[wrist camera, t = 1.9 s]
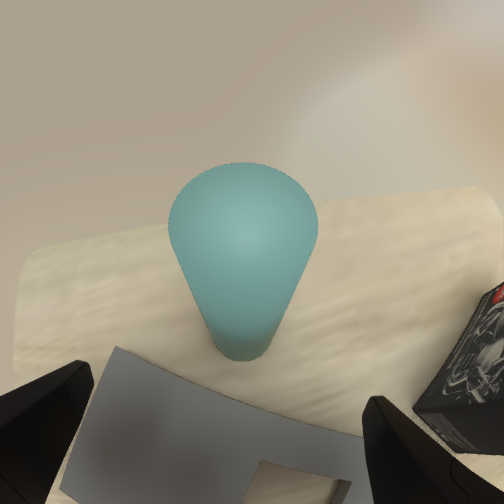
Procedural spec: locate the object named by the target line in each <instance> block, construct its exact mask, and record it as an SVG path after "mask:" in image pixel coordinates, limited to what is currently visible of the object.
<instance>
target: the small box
mask: <svg viewBox="0 0 504 504" xmlns="http://www.w3.org/2000/svg"><path fill="white" fill-rule="evenodd" d="M413 411H414V412H415V413H416V414H417V415H418V416H419V417H420V418H421V419H422V420H423V421H424V422H425V423H426V424H427V425H428V426H429V427H430V428H431V429H432V430H433V431H434V432H435V433H436V434H437V435H438V436H439V437H440V438H441V439H442V440H443V441H444V442H445V443H446V444H447V445H448V446H449V447H450V448H451V449H453V450H454V451H455V453H459V454H464V453H467V454H470V453H471V454H483V455H484V454H485V455H501V456H504V282H503V283H501V284H500V285H498V286H497V287H495V288H494V289H492V290H491V291H489V292H488V293H486V294H484V295H483V297H482V299H481V301H480V303H479V305H478V307H477V309H476V311H475V313H474V315H473V317H472V318H471V320H470V322H469V324H468V326H467V328H466V329H465V331H464V333H463V334H462V336H461V338H460V339H459V341H458V343H457V345H456V346H455V348H454V349H453V351H452V353H451V354H450V356H449V357H448V359H447V360H446V362H445V363H444V365H443V367H442V368H441V369H440V371H439V372H438V374H437V375H436V377H435V378H434V380H433V381H432V383H431V384H430V385H429V387H428V388H427V390H426V391H425V392H424V394H423V395H422V396H421V397H420V399H419V400H418V401H417V403H416V404H415V405H414V407H413Z"/></svg>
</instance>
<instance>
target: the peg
mask: <svg viewBox="0 0 504 504" xmlns="http://www.w3.org/2000/svg"><path fill="white" fill-rule="evenodd" d="M168 230H169V237H170V241H171V245H172V247H173V250H174V252H175V254H176V257H177V259H178V262H179V264H180V266H181V269H182V271H183V273H184V276H185V278H186V280H187V283H188V285H189V287H190V289H191V292H192V294H193V296H194V299H195V301H196V303H197V305H198V307H199V310H200V312H201V314H202V316H203V318H204V321H205V323H206V325H207V327H208V329H209V331H210V333H211V335H212V338H213V340H214V342H215V344H216V346H217V348H218V349H219V350H220V352H221V353H222V354H224V355H225V356H226V357H228V358H230V359H232V360H235V361H250V360H253V359H256V358H258V357H259V356H261V355H262V354H263V353H264V352H265V351H266V350H267V348H268V347H269V345H270V343H271V341H272V339H273V337H274V335H275V332H276V330H277V328H278V326H279V324H280V322H281V320H282V318H283V315H284V313H285V311H286V309H287V307H288V305H289V302H290V300H291V298H292V296H293V294H294V291H295V289H296V287H297V285H298V282H299V280H300V278H301V276H302V273H303V271H304V269H305V267H306V264H307V262H308V260H309V257H310V255H311V253H312V250H313V248H314V245H315V243H316V239H317V234H318V219H317V214H316V210H315V207H314V205H313V202H312V200H311V199H310V197H309V195H308V194H307V193H306V191H305V190H304V189H303V188H302V187H301V186H300V185H299V184H298V183H297V182H296V181H295V180H294V179H292V178H291V177H290V176H288V175H286V174H285V173H283V172H281V171H279V170H277V169H274V168H272V167H269V166H265V165H261V164H255V163H231V164H225V165H221V166H217V167H214V168H212V169H209V170H207V171H205V172H203V173H201V174H200V175H198V176H197V177H195V178H194V179H192V180H191V181H190V182H189V183H188V184H187V185H186V186H185V187H184V188H183V189H182V190H181V192H180V193H179V194H178V196H177V197H176V199H175V201H174V203H173V205H172V208H171V211H170V216H169V222H168Z"/></svg>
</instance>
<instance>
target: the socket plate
mask: <svg viewBox="0 0 504 504" xmlns="http://www.w3.org/2000/svg"><path fill="white" fill-rule="evenodd" d="M261 460H264V461H267V462H270V463H274V464H277V465H281V466H284V467H288V468H292V469H296V470H299V471H303V472H308V473H312V474H316V475H321V476H326V477H330V478H336V479H341V481H340V483H339V485H338V487H337V490H336V492H335V494H334V496H333V499H332V501H331V503H330V504H374V502H373V497H372V491H371V486H370V480H369V475H368V470H367V465H366V459H365V449H364V438H362V437H358V436H353V435H349V434H345V433H341V432H336V431H332V430H329V429H325V428H321V427H317V426H314V425H310V424H306V423H303V422H300V421H296V420H293V419H290V418H286V417H283V416H280V415H277V414H274V413H271V412H268V411H265V410H262V409H259V408H256V407H253V406H250V405H248V404H245V403H242V402H239V401H237V400H234V399H231V398H229V397H226V396H224V395H221V394H219V393H216V392H214V391H211V390H209V389H206V388H204V387H202V386H199V385H197V384H194V383H192V382H190V381H188V380H185V379H183V378H181V377H179V376H176V375H174V374H172V373H170V372H168V371H166V370H163V369H161V368H159V367H157V366H155V365H153V364H151V363H149V362H147V361H145V360H143V359H141V358H139V357H137V356H135V355H133V354H131V353H129V352H127V351H126V350H123V349H121V348H119V347H117V346H115V348H114V350H113V352H112V355H111V357H110V359H109V361H108V363H107V366H106V368H105V370H104V372H103V375H102V377H101V379H100V382H99V384H98V386H97V389H96V391H95V393H94V396H93V398H92V401H91V403H90V406H89V408H88V410H87V413H86V415H85V418H84V421H83V423H82V426H81V428H80V431H79V433H78V436H77V439H76V442H75V444H74V447H73V450H72V452H71V455H70V458H69V461H68V464H67V467H66V470H65V473H64V476H63V479H62V482H61V485H60V488H59V490H61V491H62V492H64V493H65V494H66V495H68V496H69V497H71V498H72V499H74V500H75V501H77V502H78V503H80V504H241V503H242V501H243V498H244V496H245V494H246V492H247V490H248V488H249V485H250V483H251V481H252V479H253V477H254V474H255V472H256V470H257V468H258V465H259V463H260V461H261Z"/></svg>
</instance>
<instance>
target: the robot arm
mask: <svg viewBox="0 0 504 504" xmlns="http://www.w3.org/2000/svg"><path fill="white" fill-rule="evenodd" d="M93 387H94V379H93V376H92V372H91V368H90V365H89V363H87V362H85V361H81V360H76V361H73V362H71V363H69V364H67V365H65V366H63V367H61V368H59V369H57V370H55V371H53V372H51V373H49V374H46V375H44V376H42V377H40V378H38V379H36V380H34V381H32V382H30V383H27V384H25V385H23V386H21V387H19V388H17V389H15V390H13V391H10V392H9V393H6V394H4V395H2V396H0V504H45V502H46V499H47V497H48V494H49V492H50V489H51V487H52V485H53V482H54V480H55V478H56V475H57V473H58V471H59V468H60V466H61V464H62V462H63V459H64V457H65V455H66V453H67V451H68V448H69V446H70V444H71V442H72V440H73V438H74V436H75V434H76V431H77V429H78V427H79V425H80V423H81V420H82V418H83V415H84V412H85V409H86V406H87V403H88V401H89V398H90V395H91V392H92V390H93ZM362 425H363V437H364V449H365V459H366V465H367V470H368V475H369V480H370V486H371V491H372V497H373V502H374V504H504V492H503V491H501V490H500V489H498V488H496V487H495V486H493V485H492V484H490V483H489V482H487V481H486V480H484V479H483V478H481V477H480V476H478V475H477V474H475V473H474V472H472V471H471V470H470V469H468V468H467V467H466V466H465V465H463V464H462V463H461V462H460V461H459V460H457V459H456V458H455V457H454V456H452V455H451V454H450V453H449V452H448V451H447V450H445V449H444V448H443V447H442V446H441V445H440V444H438V443H437V442H436V441H435V440H434V439H433V438H431V437H430V436H429V435H428V434H427V433H426V432H424V431H423V430H422V429H421V428H420V427H419V426H418V425H416V424H415V423H414V422H413V421H412V420H411V419H409V418H408V417H407V416H406V415H405V414H404V413H403V412H401V411H400V410H399V409H398V408H397V407H396V406H395V405H393V404H392V403H391V402H390V401H389V400H388V399H387V398H386V397H384V396H371V397H370V398H369V400H368V403H367V405H366V407H365V409H364V412H363V414H362Z"/></svg>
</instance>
